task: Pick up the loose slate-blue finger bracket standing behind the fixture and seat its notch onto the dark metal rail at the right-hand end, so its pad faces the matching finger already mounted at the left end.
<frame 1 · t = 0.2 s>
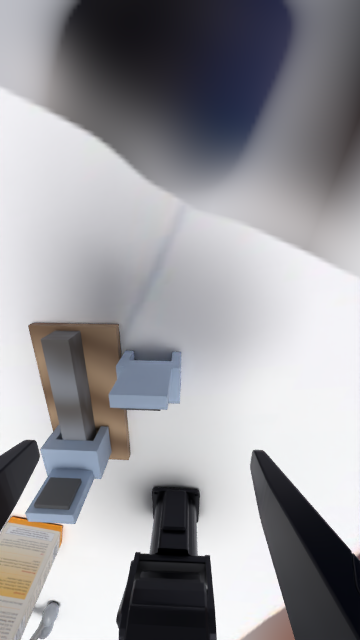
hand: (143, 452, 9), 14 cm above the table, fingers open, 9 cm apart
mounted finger: (85, 438, 25), resting on rail board
rail board: (87, 395, 24), on the table
supplement box: (39, 527, 33), on the table
molecular model: (29, 602, 41), on the table
loose finger: (153, 367, 23), on the table
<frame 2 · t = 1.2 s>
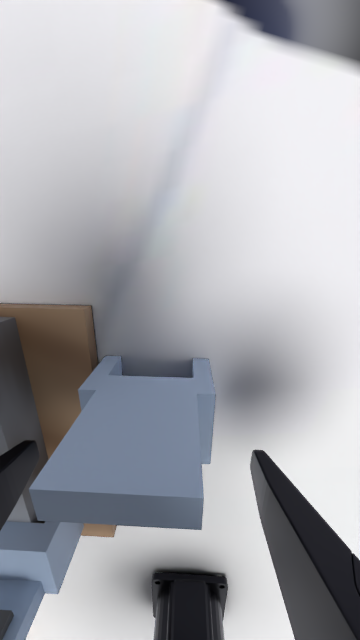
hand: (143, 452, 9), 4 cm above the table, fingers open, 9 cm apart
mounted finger: (39, 505, 15), resting on rail board
rail board: (41, 433, 14), on the table
loose finger: (157, 386, 13), on the table
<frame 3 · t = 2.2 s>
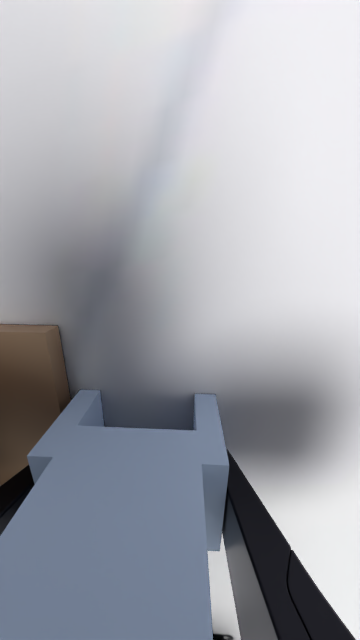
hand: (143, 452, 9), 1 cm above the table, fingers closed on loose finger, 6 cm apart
rail board: (3, 481, 11), on the table
loose finger: (148, 428, 10), on the table, touching gripper
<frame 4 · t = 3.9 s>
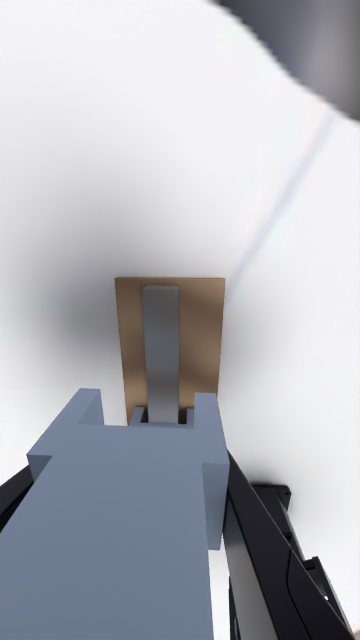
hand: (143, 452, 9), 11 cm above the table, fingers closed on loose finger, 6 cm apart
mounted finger: (165, 424, 21), resting on rail board
rail board: (171, 371, 20), on the table
loose finger: (148, 427, 10), point 10 cm above the table, touching gripper
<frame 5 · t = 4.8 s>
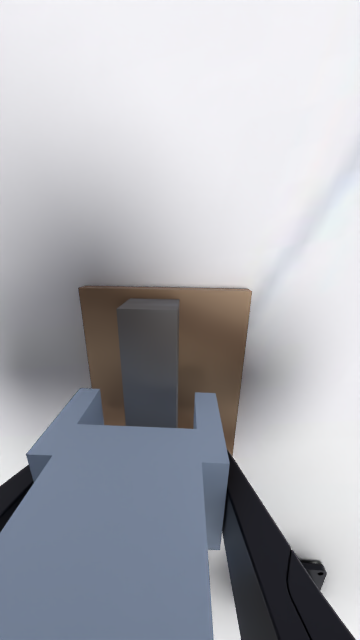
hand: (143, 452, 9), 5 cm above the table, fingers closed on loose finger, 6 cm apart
rail board: (166, 418, 14), on the table
loose finger: (148, 426, 10), point 4 cm above the table, touching gripper
when the fingers open (3 cm above the table, at t = 5.6 s): loose finger stays where it is, resting on rail board.
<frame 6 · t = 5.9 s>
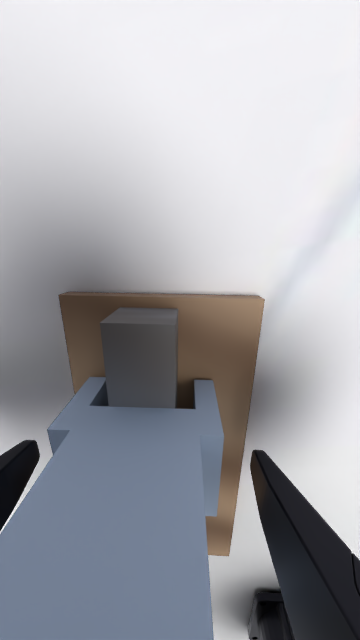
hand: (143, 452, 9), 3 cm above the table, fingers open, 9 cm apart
rail board: (163, 441, 12), on the table
loose finger: (152, 412, 11), point 1 cm above the table, touching rail board
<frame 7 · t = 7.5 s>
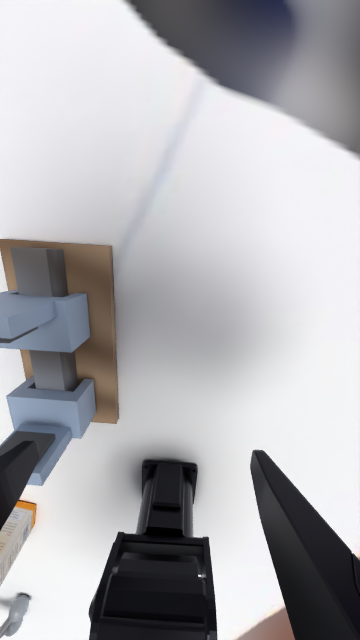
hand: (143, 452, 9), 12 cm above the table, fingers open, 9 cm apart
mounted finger: (65, 394, 21), resting on rail board
rail board: (70, 340, 20), on the table
supplement box: (8, 506, 29), on the table
loose finger: (55, 313, 18), point 1 cm above the table, touching rail board
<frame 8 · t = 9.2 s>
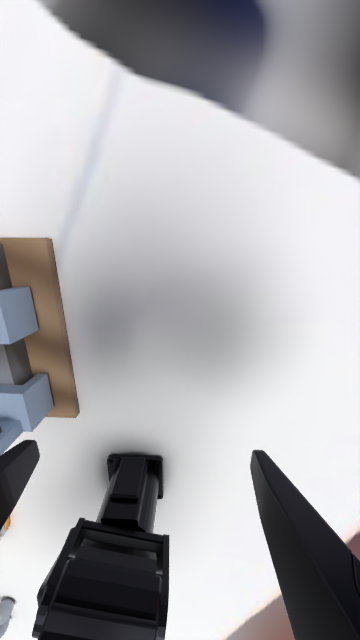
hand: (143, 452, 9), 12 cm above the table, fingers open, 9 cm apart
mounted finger: (21, 389, 21), resting on rail board
rail board: (22, 336, 20), on the table
loose finger: (1, 308, 19), point 1 cm above the table, touching rail board
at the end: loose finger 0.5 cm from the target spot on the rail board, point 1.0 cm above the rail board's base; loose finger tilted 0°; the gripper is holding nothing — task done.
